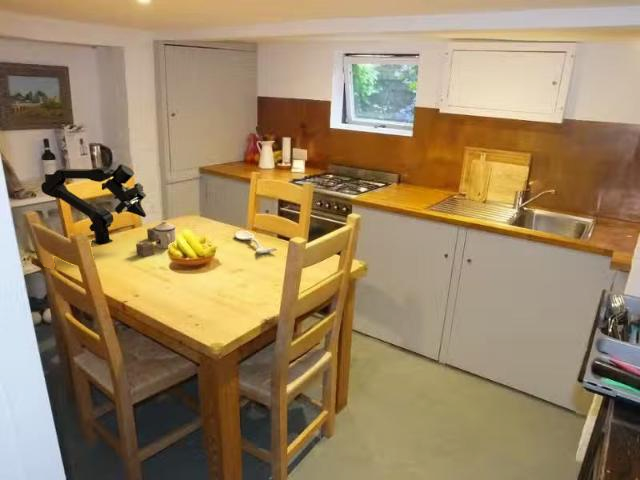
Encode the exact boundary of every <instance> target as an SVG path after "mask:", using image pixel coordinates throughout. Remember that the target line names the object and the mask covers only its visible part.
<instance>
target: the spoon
mask: <svg viewBox="0 0 640 480" xmlns="http://www.w3.org/2000/svg"><path fill="white" fill-rule="evenodd" d="M234 237H235V238H236V239H239V240H241V241H251V242H252V243H255V244H256V245H257V249H255V251H256V252H257V254H268V253H271V252H274V251H278V250H277V247H273V248H269V247H263V246H262V245H261V244H260V242H259V241H258V239H257V238H255V235H254V234H253V233H252V232H251V231H247V230H238V231H236V232H234Z"/></svg>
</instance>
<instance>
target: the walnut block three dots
mask: <svg viewBox="0 0 640 480" xmlns="http://www.w3.org/2000/svg"><path fill="white" fill-rule="evenodd" d="M154 227H155V226H154ZM154 227H150V228H147V230H146V231H147V240H150V241H152V242H156V239H155V230H154Z"/></svg>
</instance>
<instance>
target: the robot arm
mask: <svg viewBox="0 0 640 480" xmlns="http://www.w3.org/2000/svg"><path fill="white" fill-rule="evenodd" d="M134 175H135V172H134V170H133V169H132V168H131V167H129V166H127V165H125V164H123V163H121V164H118V166H117V168H116V169H111V168H109V166H100V167H95V168H91V169H90V168H60V169H57V170H56V171H54V173H53V174H52V175H50V177H48V178H47V180H46V181H44V182H42V184H41V185H40V186H41V187H40V189H41V192H42V193H44V194H45V195H47V196H48V197H51V198H56V199H60V200H62V201H63V202H64V203H66V204H68V205H69V206H71V207H73V208H74V209H76V210H77V211H78V212H81V213H82V214H83V215H85V216H87V218H89V220H90V222H91V224H90V225H89V226H88V227H89V230H90V231H91V232H93V233H94V239H93V240H91V242H92V243H94V244H97V245H104V244H108V243H111V242H113V241H114V240H113V239H111V238H110V232H109V227H111V226H112V223H114V214H112V213H111V211H110V210H109V209H107V208H105V207H104V206H101V207H99V208H98V207H95V206H93V205H92V204H90V203H88V202H87V201H85V200H84V199H82V198H80V197H79V196H78V195H75V194H74V193H72V192H71V191H69V190H68V188H67V186H66V184H65V183H66V181H67V179H74V180H75V179H80V180H81V179H83V180H90V181H92V182H98V183H101V191H105V190H108V191H109V192H110V193H111V194H113V196H114V197H113V198H114V199H115V200H119V203H118V204H117V206H115V207H114V211H115V212H116V213H117V214H118V215H120V214H121V213H123V210H124V209H125V208H126V211H125V212H127V213H130V214H134V215H136V216H140V217H142V218H145V217H147V214H146V213H145V210H144V208H143V206H142V201H143V200H144V198H146V197H147V194H146V193H145V192H144V186H143V185H142V184H141V183H140V182H138V183H135V184H134V185H133V187H131V188H130V187H129V186H125V185H123V184H127V183H128V182H129V181H130V179H132V177H133V176H134ZM105 181H106V182H105ZM102 182H103V183H102Z"/></svg>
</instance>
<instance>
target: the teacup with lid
mask: <svg viewBox="0 0 640 480" xmlns="http://www.w3.org/2000/svg"><path fill="white" fill-rule="evenodd" d="M154 230H155V239H156V241H155V246H156V248H158V249H163V250H165V249H169V248H168V245H169V244H170V243H172V242H174V241H175V240H176V226H175V224H172V223H170V222H168V221H167V220H162V222H161V223H159V224H156V225H155V226H154Z"/></svg>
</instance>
